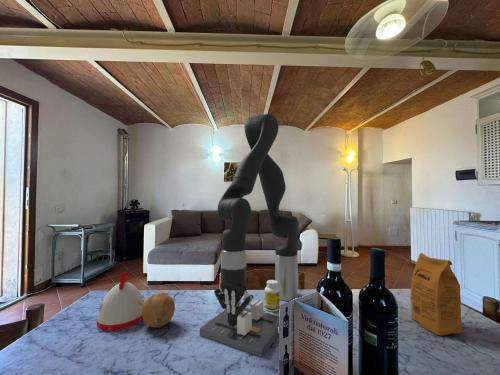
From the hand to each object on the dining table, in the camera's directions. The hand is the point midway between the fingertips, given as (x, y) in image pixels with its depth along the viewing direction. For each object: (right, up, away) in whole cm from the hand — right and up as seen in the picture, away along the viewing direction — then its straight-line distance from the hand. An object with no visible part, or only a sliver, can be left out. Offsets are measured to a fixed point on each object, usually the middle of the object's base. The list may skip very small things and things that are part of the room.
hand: (232, 324), depth 68 cm
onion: (-24, -3, +5) cm, 25 cm away
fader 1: (+3, 0, -2) cm, 4 cm away
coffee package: (+64, -4, +6) cm, 64 cm away
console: (+3, -3, +3) cm, 6 cm away
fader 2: (+7, -1, +6) cm, 10 cm away
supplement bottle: (+13, -4, +17) cm, 22 cm away
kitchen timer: (-38, -4, +9) cm, 39 cm away
